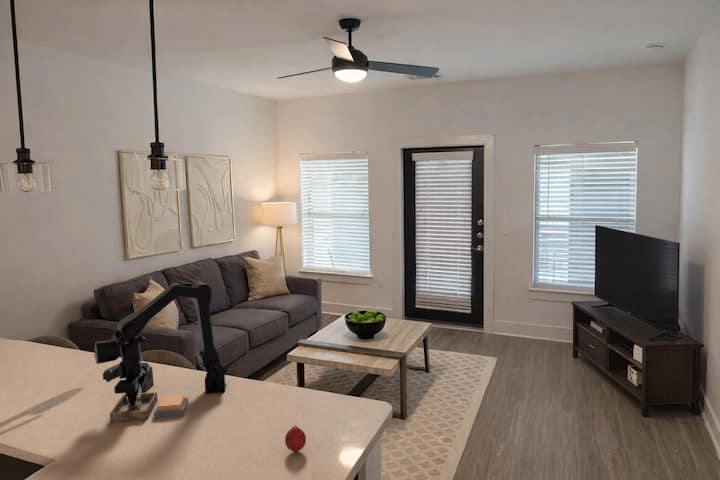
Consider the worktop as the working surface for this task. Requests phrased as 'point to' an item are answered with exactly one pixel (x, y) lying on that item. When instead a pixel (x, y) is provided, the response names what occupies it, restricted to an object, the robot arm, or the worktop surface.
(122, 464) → the worktop surface
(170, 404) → the pad
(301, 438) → the onion
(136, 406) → the cylinder
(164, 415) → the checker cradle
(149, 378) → the box
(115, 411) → the tray
